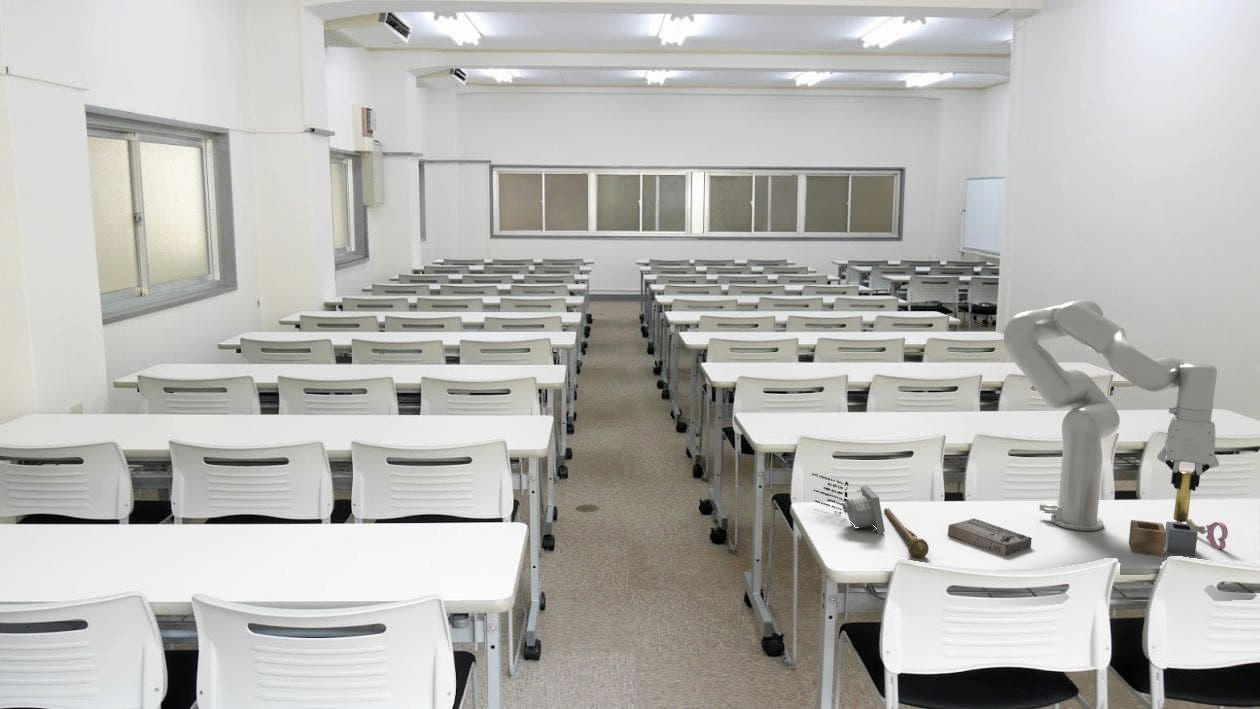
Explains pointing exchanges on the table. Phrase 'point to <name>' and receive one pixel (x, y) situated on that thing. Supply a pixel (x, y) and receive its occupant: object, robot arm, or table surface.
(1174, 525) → the socket block
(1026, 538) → the box
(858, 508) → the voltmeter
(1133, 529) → the brown open box
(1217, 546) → the decorative key
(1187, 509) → the brass bar
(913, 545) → the brown rod with knob
